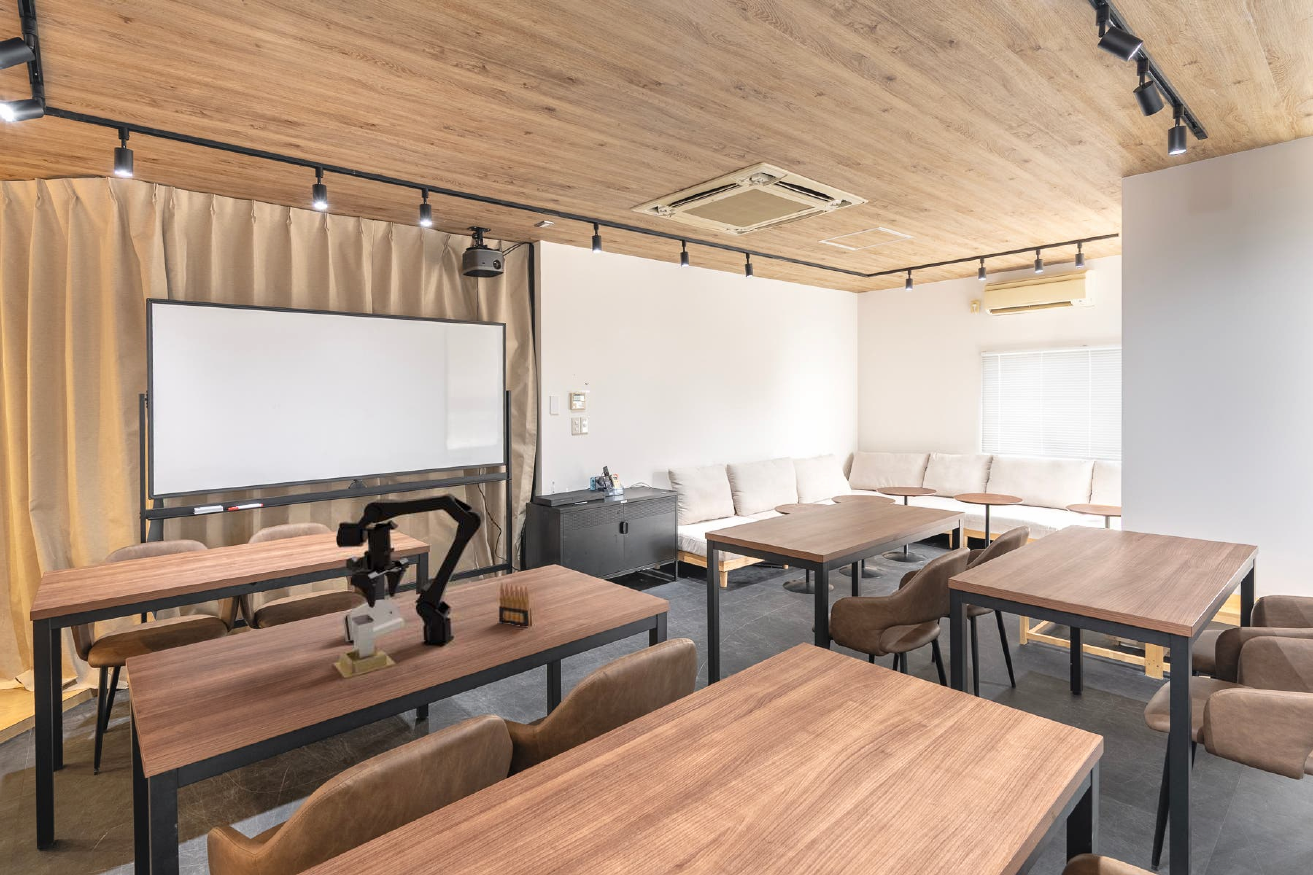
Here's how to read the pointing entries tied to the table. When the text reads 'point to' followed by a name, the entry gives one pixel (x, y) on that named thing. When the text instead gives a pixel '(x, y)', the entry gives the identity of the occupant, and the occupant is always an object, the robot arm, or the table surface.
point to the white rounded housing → (375, 618)
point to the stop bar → (363, 637)
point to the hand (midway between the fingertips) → (382, 601)
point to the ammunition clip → (514, 606)
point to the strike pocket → (362, 663)
